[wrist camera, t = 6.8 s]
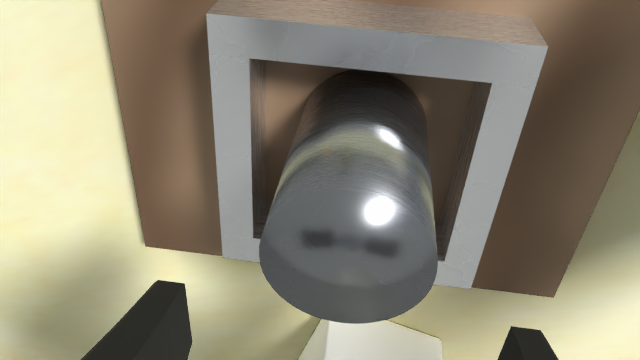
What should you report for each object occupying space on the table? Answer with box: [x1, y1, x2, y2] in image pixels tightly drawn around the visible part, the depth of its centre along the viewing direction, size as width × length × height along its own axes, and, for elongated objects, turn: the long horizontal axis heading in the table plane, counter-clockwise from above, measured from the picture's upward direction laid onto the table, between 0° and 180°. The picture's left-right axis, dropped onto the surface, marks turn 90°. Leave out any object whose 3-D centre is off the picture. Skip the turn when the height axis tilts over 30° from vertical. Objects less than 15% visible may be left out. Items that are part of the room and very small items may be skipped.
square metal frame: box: [206, 0, 548, 289], centre depth 18 cm, size 9×9×2 cm
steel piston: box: [259, 69, 438, 324], centre depth 16 cm, size 4×4×7 cm
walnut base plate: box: [101, 0, 640, 298], centre depth 20 cm, size 18×14×1 cm
